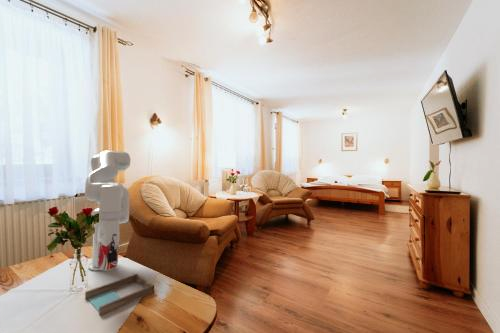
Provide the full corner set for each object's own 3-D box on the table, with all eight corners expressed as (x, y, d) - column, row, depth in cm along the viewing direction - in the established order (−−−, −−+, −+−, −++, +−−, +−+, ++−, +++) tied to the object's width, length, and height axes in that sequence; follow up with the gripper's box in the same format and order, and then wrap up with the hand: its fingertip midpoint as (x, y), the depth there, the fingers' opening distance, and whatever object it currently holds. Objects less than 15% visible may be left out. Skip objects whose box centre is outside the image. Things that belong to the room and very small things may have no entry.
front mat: (87, 299, 93) (87, 298, 93) (111, 290, 100) (111, 290, 100) (100, 313, 85) (100, 312, 85) (125, 302, 92) (125, 301, 92)
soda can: (108, 273, 89) (109, 242, 89) (92, 270, 90) (93, 240, 90) (121, 265, 96) (122, 236, 96) (107, 263, 97) (108, 235, 97)
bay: (85, 298, 94) (85, 291, 94) (136, 279, 110) (136, 273, 110) (100, 315, 84) (100, 307, 84) (154, 292, 101) (154, 285, 101)
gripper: (91, 213, 95) (89, 255, 95) (108, 220, 84) (106, 268, 85) (111, 210, 101) (109, 250, 101) (129, 217, 90) (127, 262, 91)
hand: (108, 258), depth 93 cm, fingers closed on soda can, 6 cm apart
